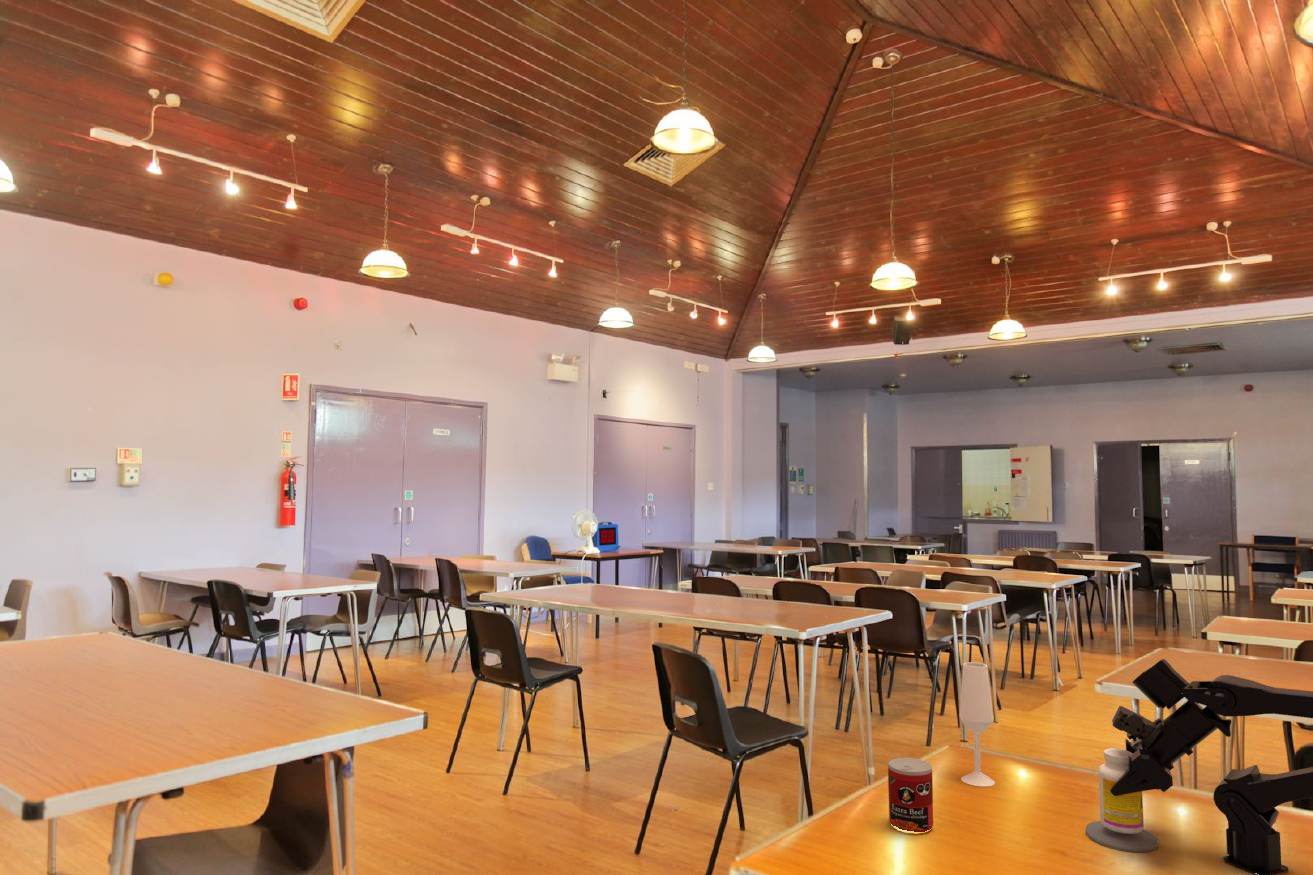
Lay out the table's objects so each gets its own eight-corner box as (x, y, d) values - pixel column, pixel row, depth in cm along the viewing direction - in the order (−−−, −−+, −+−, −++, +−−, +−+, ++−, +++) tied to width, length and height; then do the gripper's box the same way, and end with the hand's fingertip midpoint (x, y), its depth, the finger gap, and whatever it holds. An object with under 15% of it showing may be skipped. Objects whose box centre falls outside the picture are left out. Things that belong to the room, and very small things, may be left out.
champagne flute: (971, 772, 177) (968, 659, 178) (1001, 781, 172) (998, 665, 173) (954, 779, 173) (952, 664, 174) (984, 788, 167) (981, 669, 169)
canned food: (884, 830, 147) (883, 767, 148) (894, 814, 154) (893, 754, 155) (929, 838, 144) (927, 774, 144) (936, 822, 151) (935, 761, 152)
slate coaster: (1173, 846, 141) (1172, 841, 141) (1126, 856, 137) (1126, 851, 137) (1116, 821, 151) (1116, 817, 151) (1071, 830, 147) (1071, 826, 147)
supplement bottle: (1150, 836, 140) (1146, 760, 141) (1107, 833, 141) (1104, 758, 142) (1135, 819, 147) (1132, 747, 147) (1095, 817, 148) (1092, 745, 148)
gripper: (1138, 682, 152) (1074, 735, 156) (1145, 706, 135) (1073, 765, 140) (1191, 731, 148) (1123, 784, 152) (1205, 761, 131) (1129, 820, 135)
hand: (1111, 786), depth 145 cm, fingers closed on supplement bottle, 6 cm apart
